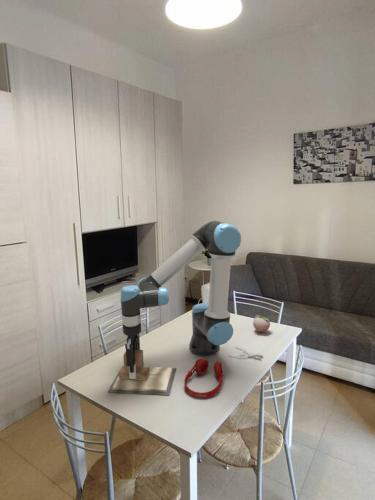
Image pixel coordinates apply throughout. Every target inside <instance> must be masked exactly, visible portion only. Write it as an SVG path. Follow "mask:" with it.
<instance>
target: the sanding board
mask: <svg viewBox="0 0 375 500" xmlns="http://www.w3.org/2000/svg"><path fill="white" fill-rule="evenodd" d="M148 367H149V370H150V374H149V376H148V379H147V380H131V379H119V372H118V373H117V375H116V376H115V378H114V380H113V382H112V384H111V385H110V387H109V388H108V391H107V393H109V394H110V393H111V394H112V393H113V394H128V395H132V394H133V395H147V396H148V395H151V396H166V397H169V396H170V395H171V392H172V387H173V383H174V379H175V375H176V371H177V368H176V367H162V366H161V367H160V366H159V367H158V366H157V367H156V366H148Z"/></svg>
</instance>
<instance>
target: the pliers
mask: <svg viewBox="0 0 375 500" xmlns="http://www.w3.org/2000/svg"><path fill="white" fill-rule="evenodd" d="M234 348H235V349H237V350H240V351H242V353H243V354H240V355H239V356H237V355H227V357H229V358H231V359H232V358H233V359H239V360H242V359H243V360H245V359H253V360H255V361H256V360H257V361H259V360H260V362H261V361H262V359H263V358H264V357H263V354H260V353H254V352H253V353H251V352H250V351H249V350H247V349H244V348H242V347H237V346H235V347H234Z"/></svg>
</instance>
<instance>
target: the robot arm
mask: <svg viewBox="0 0 375 500" xmlns="http://www.w3.org/2000/svg"><path fill="white" fill-rule="evenodd" d="M241 243H242V236H241V232H240V231H239V229H238V228H237V227H236V226H235V225H232V224H231V223H227V222H222V221H218V220H211V221H208V222H207V223H205V224H204V225H202V226H201V227H200V228H199V229H198V230H197V229H196V231H194V233H193V234H192V235H191V236H190V239H189V240H188V241H186V243H185V244H184V245H182V246H181V247H180V248H179V249H177V251H176V252H174V253H173V254H172V255H171V256H170V257H169V258H168V259H167V260H165V261H164V262H163V263H162V264H161V265H160V266H159V267H157V268H156V269H155V270H154V271H153V272H152V273H151V274H149V276H147V277H143V278H141V279H140V280H138V282H137V285H126V286H123V287H122V288H121V289H120V307H121V315H120V318H121V320H122V333H123V334H124V335H125V336H126V343H125V344H124V345H125V347H124V348H125V352H126V361H127V364H126V365H127V366H129V378H130V379H136V364H135V350H141V342H140V341H141V340H140V333H141V332H142V319H141V318H142V317H141V316H142V315H141V309H147V308H154V307H162V306H166V305H168V303H169V301H170V295H169V291H168V288H166V287H165V286H164V285H165V284H167V283H168V282H169V280H171V279H172V278H173V277H175V275H177V274H178V273H179V272H180V271H181V270H182V269H183V268H184V267H186V265H188V264H189V263H190V262H191V261H192V260H193V259H195V258H196V257H197V256H198V255H199V254H200V253H202V252H206V251H207V250H208V254H209V256H210V257H211V261H210V275H209V277H210V278H209V291H208V292H209V293H208V303H207V302H201V303H197V304H194V305H193V306H192V307H191V308H192V309H191V310H192V311H191V315H192V316H191V318H192V319H191V321H192V324H191V325H192V335H191V338H190V341H189V345H188V346H189V351H190V352H191V353H192V354H193V355H197V356H204V357H207V356H212V355H216V354H217V353H218V352H219V351H220V347H221V346H222V345H225V344H227V343H228V341H230V340H231V339H232V337H233V335H234V327H233V325H232V324H231V323H230V322H231V321H230V319H231V312H229V311H228V303H229V292H230V291H229V290H230V281H231V280H230V279H231V266H232V265H231V264H232V258H233V257H235V256H236V251H237V250H238V248H239V247H240V246H241ZM163 286H164V287H163Z"/></svg>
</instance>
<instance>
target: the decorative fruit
mask: <svg viewBox="0 0 375 500" xmlns="http://www.w3.org/2000/svg"><path fill="white" fill-rule="evenodd" d="M253 318H254V319H253V321H252V325H253V328H254V329H255V330H256V331H258V332H260V333H264V332H266V331H268V330H269V328H270V326H271V321H270V320H269V318H267V317H265V316H263V315H255V316H253Z"/></svg>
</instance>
